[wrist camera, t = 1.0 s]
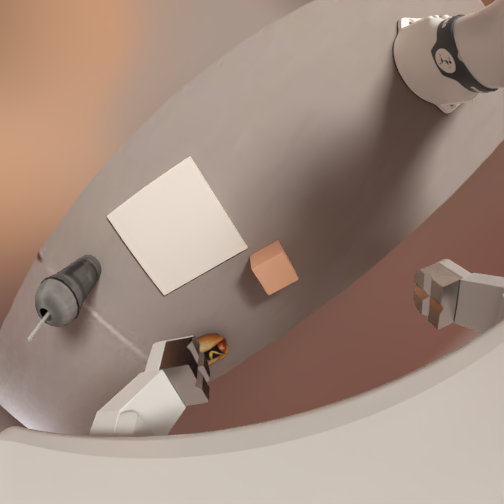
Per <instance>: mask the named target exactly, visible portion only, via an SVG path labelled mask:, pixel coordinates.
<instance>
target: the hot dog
mask: <svg viewBox="0 0 504 504" xmlns="http://www.w3.org/2000/svg"><path fill="white" fill-rule="evenodd" d="M197 339H198V341H199V343H200V352H202V353H204V354H205V356H206V359H207V362H208V365H212V364H214V363H216V362H218V361H219V360H221V359H223V358H224V357H225V356H226V355H227V351H228V344H227V342H226V339H225V338H224V337H222V336H220V335H219V334H207V335H204V336H202V337H199V338H197Z"/></svg>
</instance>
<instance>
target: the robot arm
mask: <svg viewBox="0 0 504 504" xmlns="http://www.w3.org/2000/svg"><path fill="white" fill-rule="evenodd" d="M409 23H410V24H409ZM398 31H399V32H398V35H397V37H396V40H395V43H394V58H395V62H396V66H397V68H398V71H399V73H400V75H401V77H402V78H403V80H404V81H405V83H406V84H407V85H408V87H409V88H410V89H411V90H412V91H413V92H414V93H415V94H416V95H418V96H419V97H420V98H422V99H424V100H426V101H428V102H431V103H433V104H435V105H436V106H437V107H438V108H440V109H441V110H442V111H443V112H444V113H446V114H448V113H451V112H453V111H454V110H455V109H456V108H457V107H458V106H459V105H460V104H461V103H468V102H472V101H473V99H474V98H475V97H476V96H477V95H478V93H488V92H491V91H496V90H497V89H498V88H504V0H495V1H494V2H493V3H492V4H490V5H488V6H486V7H484V8H482V9H480V10H478V11H475V12H473V13H470V14H468V15H457V16H451V17H450V16H449V15H442V16H438V15H434V16H429V17H426V18H423V19H418V18H401V19H399V20H398ZM414 282H415V283H416V285H417V287H416V289H415V291H414V302H415V306H416V308H417V310H418V311H419V312H420V313H421V314H423V315H427V316H428V321H429V322H430V323H431V324H432V325H433V326H434V327H435V328H436V329H437V330H438V329H440V328H442V327H445V326H447V325H449V324H451V323H453V322H454V323H456V324H458V325H461V326H464V327H466V328H469V329H471V330H474V331H476V332H479V333H481V335H479V336H478V337H476V338H474V339H473V340H471V341H470V342H468V343H466V344H465V345H463V346H461V347H459V348H458V349H456V350H454V351H452V352H451V353H449V354H447V355H445V356H443V357H441V358H439V359H438V360H436V361H434V362H432V363H430V364H428V365H426V366H424V367H422V368H420V369H418V370H415V371H413V372H411V373H409V374H407V375H405V376H402V377H400V378H398V379H396V380H393V381H391V382H389V383H386V384H384V385H381V386H379V387H377V388H374V389H371V390H369V391H366V392H364V393H361V394H358V395H356V396H353V397H350V398H347V399H344V400H341V401H338V402H335V403H332V404H329V405H326V406H323V407H319V408H316V409H313V410H309V411H306V412H302V413H298V414H295V415H291V416H287V417H283V418H279V419H275V420H270V421H265V422H261V423H256V424H251V425H246V426H241V427H234V428H228V429H223V430H215V431H208V432H200V433H191V434H180V435H168V436H167V434H168V433H169V431H170V430H171V428H172V427H173V425H174V424H175V423H176V421H177V420H178V418H179V417H180V415H181V414H182V412H183V411H184V410H185V408H186V407H185V406H189V405H196V404H202V403H207V402H209V390H210V388H209V386H208V384H207V382H208V381H209V379H210V370H209V365H208V362H207V359H206V356H205V354H204V353H202V352H200V343H199V341H198V339H197V337H196V336H195V335H192V336H187V337H182V338H176V339H171V340H165V341H160V342H155V343H154V344H153V346H152V349H151V352H150V355H149V359H148V362H147V365H146V368H145V372H142V373H140V374H139V375H138V376H136V377H135V378H134V379H133V380H132V381H131V382H130V383H129V384H128V385H127V386H125V387H124V388H123V389H122V390H121V391H120V392H119V393H118V394H117V395H115V396H114V397H113V398H112V399H111V400H110V401H109V402H108V403H107V404H105V405H104V406H103V407H102V408H101V409H100V410H99V411H98V412H97V414H96V417H95V419H94V422H93V425H92V428H91V430H90V433H89V436H83V435H71V434H61V433H53V432H45V431H39V430H33V429H27V428H23V427H16V426H14V427H9V428H8V429H6V430H4V431H2V432H1V433H0V504H504V277H497V276H491V275H485V274H478V273H473V274H471V273H470V272H468V271H466V270H465V269H463V268H462V267H460V266H458V265H457V264H455V263H454V262H452V261H450V260H448V259H444V260H442V261H440V262H437V263H435V264H433V265H431V266H428V267H426V268H423V269H421V270H419V271H416V273H415V275H414Z"/></svg>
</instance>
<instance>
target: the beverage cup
mask: <svg viewBox="0 0 504 504" xmlns="http://www.w3.org/2000/svg"><path fill="white" fill-rule="evenodd" d="M100 274H101V265H100V263H99V261H98V260H97V259H96V258H95V257H94V256H91V255H85V256H83V257H81V258H79V259H78V260H76V261H75V262H73V263H72V264H70V265H69V266H67V267H66V268H64V269H63V270H61V271H60V272H58V273H57V274H54V275H52V276H50V277H48V278H45V279H44V280H43V281H42V282H41V285H40V286H39V287H38V289H37V292H36V295H35V307H36V310H37V313H38V315H39V317H40V318H41V319H42V320H41V321H40V322H39V324H38V325H37V326H36V328H35V329H34V330H33V332H32V333H31V335H30V336H29V337H28V339H27V341H28V342H30V341H31V339H32V338H33V337H34V335H35V334H36V333H37V331H38V330H39V328H40V327H41V326H42V324H43V323H44V322H45V323H47V324H49V325H51V326H55V327H60V326H65V325H67V324H69V323H70V322H71V321H73V320H74V319H76V318H77V316H78V314H79V310H80V308H81V306H82V303H83V301H84V300H85V298H86V297H87V295H88V293H89V292H90V290H91V289H92V287H93V286H94V284H95V282H96V281H97V279H98V277H99V276H100Z"/></svg>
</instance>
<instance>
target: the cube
mask: <svg viewBox="0 0 504 504" xmlns="http://www.w3.org/2000/svg"><path fill="white" fill-rule="evenodd" d="M250 262H251V269H252V271H253V272H254V274H255V275H256V277H257V278H258V280H259V281H260V283H261V285H262V286H263V288H264V289H265V291H266V292H267V294H268V295H271V294H273V293H274V292H276V291H278V290H280V289H282V288H284V287H286V286H287V285H289V284H291V283H293V282H295V281H297V280H298V279H299V278H298V276H297V274H296V272H295V269H294V267H293V265H292V263H291V262H290V260H289V258H288V256H287V255H286V253H285V251H284V249H283V248H282V246H281V244H280V243H279V241H278V240H277V241H275V242H273V243H272V244H270V245H268V246H266V247H265V248H263V249H261V250H259V251H257V252H256V253H254V254H252V255H250Z"/></svg>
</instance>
